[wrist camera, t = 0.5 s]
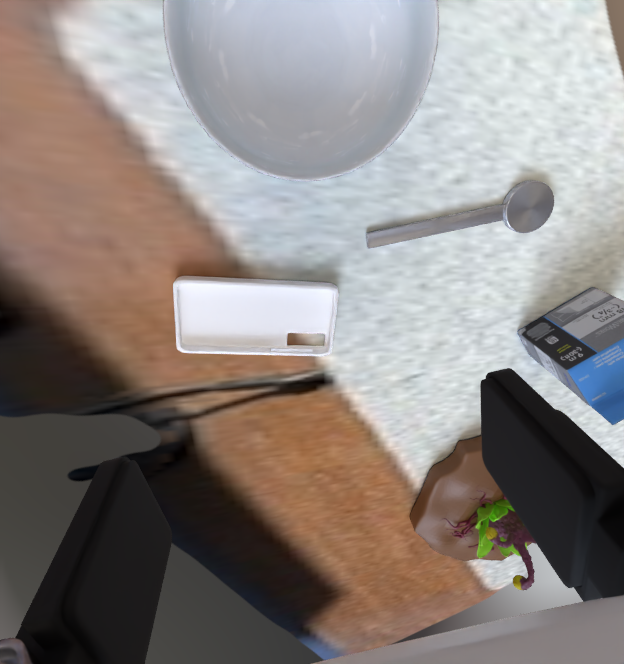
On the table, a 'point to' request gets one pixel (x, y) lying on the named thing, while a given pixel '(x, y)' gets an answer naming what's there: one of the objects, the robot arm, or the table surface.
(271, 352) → the phone case
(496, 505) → the plant
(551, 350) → the blue cardboard box
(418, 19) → the cereal bowl
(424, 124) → the table surface
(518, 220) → the spoon
